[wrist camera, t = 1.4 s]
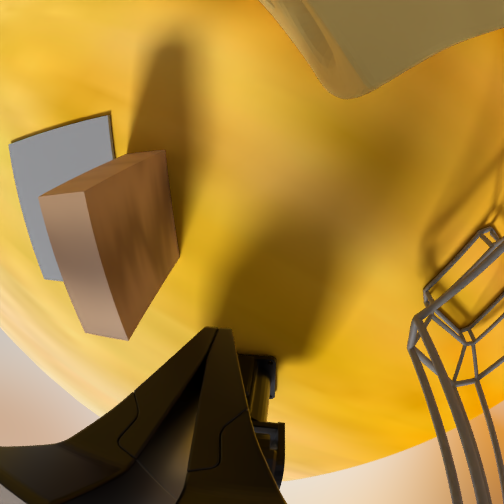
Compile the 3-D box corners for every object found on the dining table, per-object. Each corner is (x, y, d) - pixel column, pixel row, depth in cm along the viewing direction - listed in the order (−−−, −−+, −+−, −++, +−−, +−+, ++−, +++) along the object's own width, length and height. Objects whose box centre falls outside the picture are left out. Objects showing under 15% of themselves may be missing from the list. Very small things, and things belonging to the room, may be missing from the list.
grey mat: (141, 287, 24) (140, 289, 24) (46, 277, 25) (44, 279, 25) (109, 114, 17) (107, 115, 17) (10, 143, 19) (8, 144, 19)
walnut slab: (179, 256, 22) (128, 340, 14) (144, 255, 22) (85, 332, 15) (165, 149, 18) (83, 191, 10) (126, 153, 19) (37, 196, 11)
